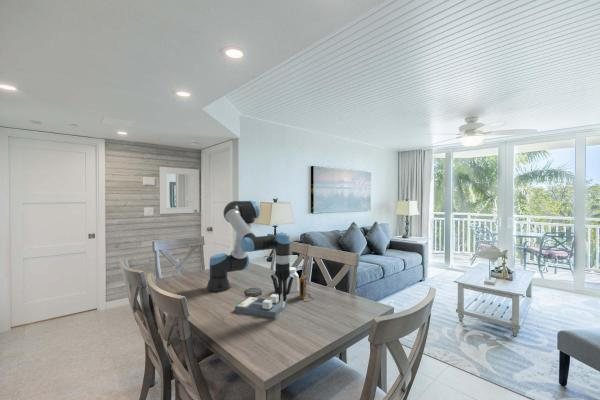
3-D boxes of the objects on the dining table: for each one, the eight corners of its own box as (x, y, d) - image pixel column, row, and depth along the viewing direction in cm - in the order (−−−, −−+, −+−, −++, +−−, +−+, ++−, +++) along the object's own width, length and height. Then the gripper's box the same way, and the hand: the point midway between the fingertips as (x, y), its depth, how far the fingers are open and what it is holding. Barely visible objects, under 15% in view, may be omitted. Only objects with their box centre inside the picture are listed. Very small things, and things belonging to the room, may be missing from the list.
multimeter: (314, 302, 167) (314, 269, 167) (298, 301, 169) (298, 268, 169) (318, 294, 181) (318, 263, 181) (303, 293, 183) (303, 263, 183)
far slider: (269, 302, 158) (269, 296, 158) (272, 300, 162) (272, 294, 162) (276, 303, 157) (276, 297, 157) (278, 300, 161) (278, 294, 161)
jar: (293, 287, 196) (293, 265, 196) (300, 291, 188) (301, 268, 188) (279, 289, 190) (279, 268, 190) (286, 294, 182) (286, 271, 182)
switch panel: (235, 311, 153) (235, 305, 153) (249, 301, 169) (249, 296, 169) (274, 317, 146) (274, 311, 146) (286, 306, 161) (286, 300, 161)
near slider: (262, 308, 150) (262, 301, 150) (265, 305, 153) (265, 299, 153) (269, 309, 148) (269, 302, 148) (272, 306, 152) (272, 300, 152)
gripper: (268, 263, 146) (268, 307, 147) (291, 265, 142) (291, 311, 142) (274, 260, 154) (274, 302, 154) (296, 262, 149) (296, 305, 149)
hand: (282, 306), depth 148 cm, fingers closed
